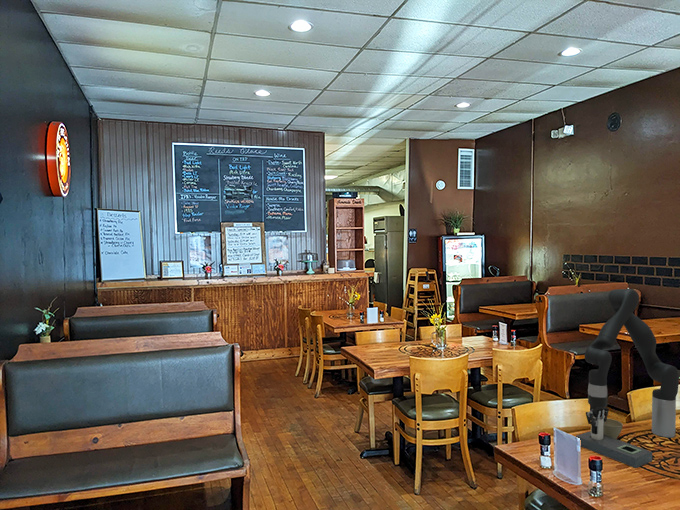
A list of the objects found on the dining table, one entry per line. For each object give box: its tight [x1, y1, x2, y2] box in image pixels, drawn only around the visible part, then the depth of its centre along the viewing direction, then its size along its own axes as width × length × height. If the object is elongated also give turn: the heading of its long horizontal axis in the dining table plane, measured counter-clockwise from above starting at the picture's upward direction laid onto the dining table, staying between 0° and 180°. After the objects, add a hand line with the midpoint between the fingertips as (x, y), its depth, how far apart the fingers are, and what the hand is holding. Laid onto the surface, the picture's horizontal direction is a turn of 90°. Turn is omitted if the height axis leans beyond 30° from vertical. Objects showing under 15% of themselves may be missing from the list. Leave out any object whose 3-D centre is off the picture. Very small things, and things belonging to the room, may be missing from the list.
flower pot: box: [603, 418, 623, 439], centre depth 221 cm, size 10×10×7 cm
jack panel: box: [575, 430, 653, 469], centre depth 205 cm, size 12×26×4 cm, turn 30°
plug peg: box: [589, 417, 603, 441], centre depth 212 cm, size 3×4×12 cm
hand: (597, 432), depth 211 cm, fingers closed on plug peg, 3 cm apart
